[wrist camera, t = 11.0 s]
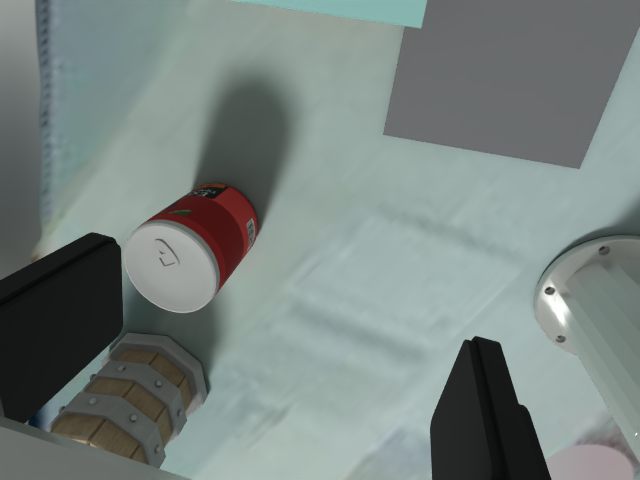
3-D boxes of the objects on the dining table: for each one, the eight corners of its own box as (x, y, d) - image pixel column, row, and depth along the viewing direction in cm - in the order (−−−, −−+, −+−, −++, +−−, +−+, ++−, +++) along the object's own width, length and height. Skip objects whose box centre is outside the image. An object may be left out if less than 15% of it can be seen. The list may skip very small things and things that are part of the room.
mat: (675, -70, 27) (681, -73, 27) (576, 167, 34) (579, 168, 33) (430, -99, 29) (431, -102, 28) (383, 133, 36) (383, 134, 35)
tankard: (143, 314, 49) (46, 414, 35) (225, 380, 51) (162, 498, 38) (72, 394, 57) (-29, 499, 44) (144, 447, 59) (69, 564, 46)
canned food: (224, 165, 39) (166, 203, 30) (276, 230, 41) (237, 286, 31) (171, 207, 42) (102, 254, 32) (222, 266, 44) (171, 328, 34)
